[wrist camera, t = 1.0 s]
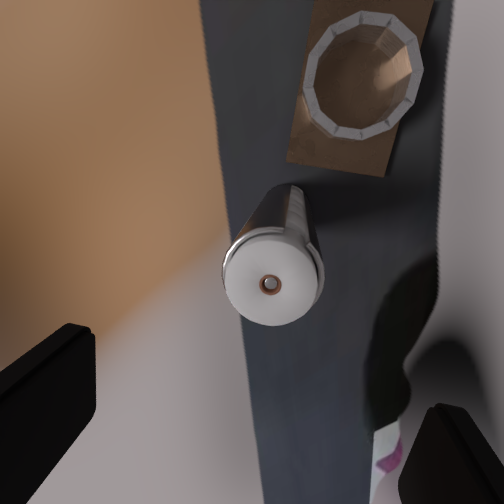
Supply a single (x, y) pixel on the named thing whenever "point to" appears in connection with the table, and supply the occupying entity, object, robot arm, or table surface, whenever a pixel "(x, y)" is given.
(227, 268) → the silver long cylinder
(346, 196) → the table surface
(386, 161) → the duct collar
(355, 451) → the table surface
